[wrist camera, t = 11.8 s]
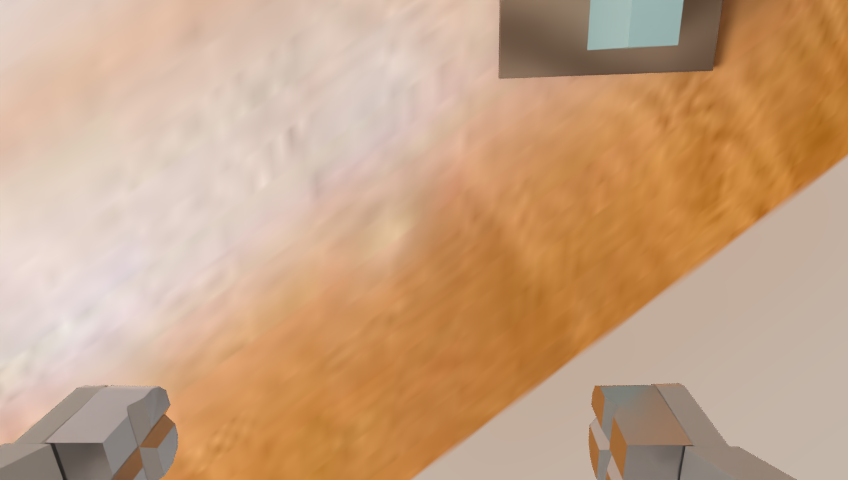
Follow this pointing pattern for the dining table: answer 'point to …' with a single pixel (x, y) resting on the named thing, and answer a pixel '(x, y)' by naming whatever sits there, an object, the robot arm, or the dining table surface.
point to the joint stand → (568, 56)
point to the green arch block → (633, 23)
